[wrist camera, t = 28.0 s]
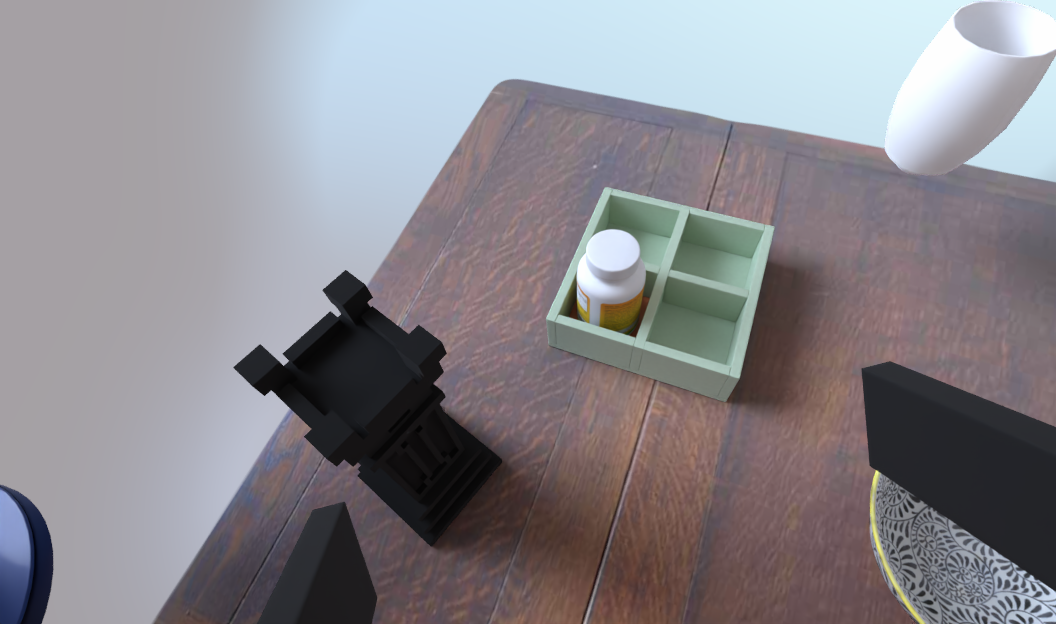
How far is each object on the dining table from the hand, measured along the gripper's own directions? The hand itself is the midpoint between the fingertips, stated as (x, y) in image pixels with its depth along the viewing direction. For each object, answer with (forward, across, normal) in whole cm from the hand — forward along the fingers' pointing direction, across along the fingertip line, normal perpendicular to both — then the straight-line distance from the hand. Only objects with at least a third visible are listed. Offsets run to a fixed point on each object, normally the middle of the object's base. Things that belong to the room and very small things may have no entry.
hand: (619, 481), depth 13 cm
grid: (+36, +12, -6) cm, 38 cm away
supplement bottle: (+34, +8, -6) cm, 36 cm away
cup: (+37, +33, -5) cm, 50 cm away
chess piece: (+28, -10, -13) cm, 33 cm away
